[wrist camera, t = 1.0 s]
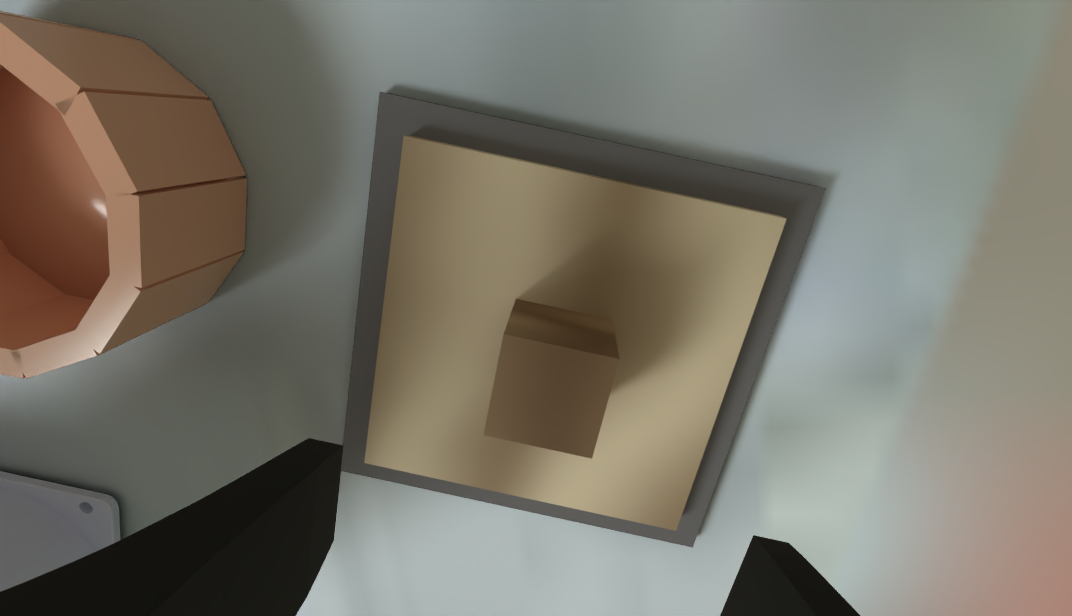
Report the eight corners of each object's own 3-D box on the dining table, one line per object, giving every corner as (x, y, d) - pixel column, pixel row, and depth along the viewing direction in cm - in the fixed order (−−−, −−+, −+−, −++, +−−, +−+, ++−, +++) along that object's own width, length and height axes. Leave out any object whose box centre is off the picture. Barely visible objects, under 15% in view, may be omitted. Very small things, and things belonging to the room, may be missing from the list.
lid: (370, 452, 20) (327, 522, 16) (409, 135, 16) (364, 138, 13) (673, 519, 20) (693, 602, 16) (779, 215, 16) (834, 239, 13)
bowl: (-13, 287, 19) (-183, 333, 15) (-50, -1, 16) (-274, -47, 12) (242, 342, 19) (145, 405, 15) (250, 63, 16) (133, 41, 12)
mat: (344, 464, 20) (340, 470, 20) (384, 93, 16) (380, 91, 16) (690, 539, 20) (692, 547, 20) (819, 186, 16) (825, 188, 16)
